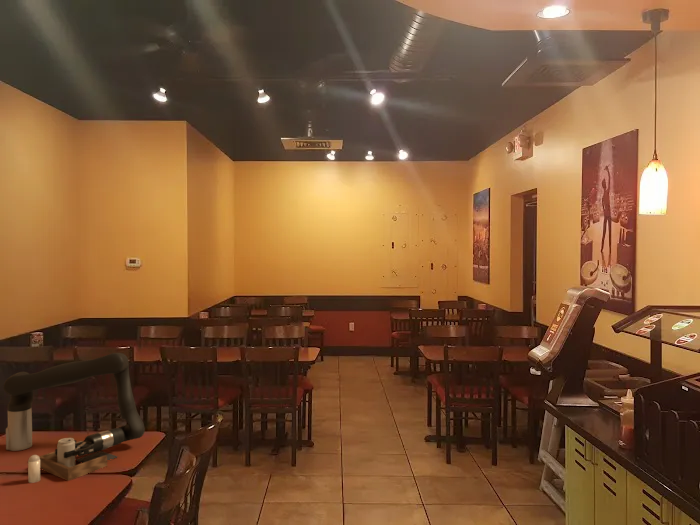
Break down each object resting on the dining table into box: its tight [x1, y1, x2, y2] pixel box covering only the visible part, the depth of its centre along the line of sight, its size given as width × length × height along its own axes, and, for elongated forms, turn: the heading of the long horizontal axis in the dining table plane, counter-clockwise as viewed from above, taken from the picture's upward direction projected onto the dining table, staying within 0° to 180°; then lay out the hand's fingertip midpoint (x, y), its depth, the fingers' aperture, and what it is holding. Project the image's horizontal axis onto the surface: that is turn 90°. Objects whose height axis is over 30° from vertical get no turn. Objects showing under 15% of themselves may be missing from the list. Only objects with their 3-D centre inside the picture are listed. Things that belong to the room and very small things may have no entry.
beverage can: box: [56, 437, 76, 467], centre depth 223 cm, size 6×6×12 cm
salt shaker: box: [27, 454, 41, 484], centre depth 212 cm, size 4×4×10 cm
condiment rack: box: [38, 451, 108, 481], centre depth 225 cm, size 16×22×4 cm
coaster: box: [75, 450, 119, 463], centre depth 234 cm, size 12×12×1 cm
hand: (60, 453), depth 221 cm, fingers closed on beverage can, 5 cm apart
